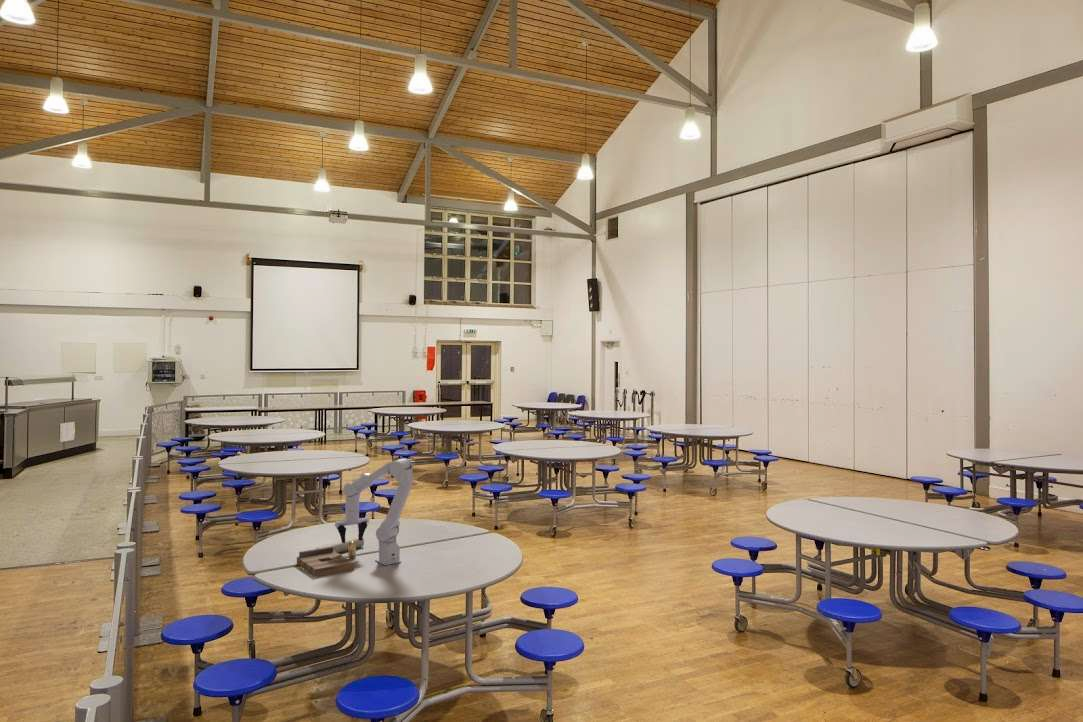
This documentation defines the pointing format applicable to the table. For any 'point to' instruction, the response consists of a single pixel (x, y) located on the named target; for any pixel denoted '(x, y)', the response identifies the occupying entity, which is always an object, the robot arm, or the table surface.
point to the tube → (343, 544)
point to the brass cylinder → (351, 549)
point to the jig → (324, 561)
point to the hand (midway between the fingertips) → (351, 541)
